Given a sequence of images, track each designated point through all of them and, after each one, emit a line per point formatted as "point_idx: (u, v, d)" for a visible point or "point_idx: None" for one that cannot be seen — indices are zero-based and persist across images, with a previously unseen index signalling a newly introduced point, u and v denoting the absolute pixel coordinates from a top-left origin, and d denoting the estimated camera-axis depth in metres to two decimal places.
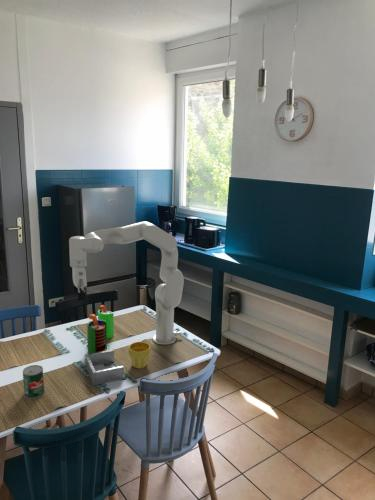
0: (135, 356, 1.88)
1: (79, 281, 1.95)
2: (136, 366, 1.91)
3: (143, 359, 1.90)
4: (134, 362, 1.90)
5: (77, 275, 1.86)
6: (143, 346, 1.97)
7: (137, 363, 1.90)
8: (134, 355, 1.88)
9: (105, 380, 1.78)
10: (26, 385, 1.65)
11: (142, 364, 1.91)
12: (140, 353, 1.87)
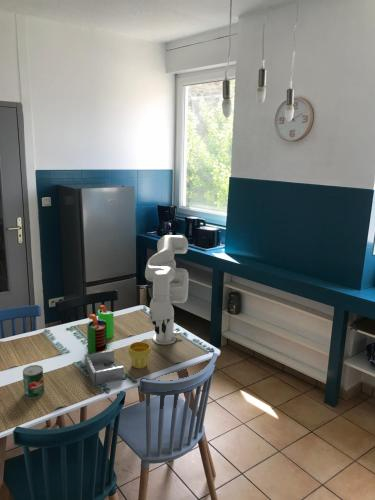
0: (135, 356, 1.88)
1: None
2: (136, 366, 1.91)
3: (143, 359, 1.90)
4: (134, 362, 1.90)
5: (171, 306, 1.92)
6: (143, 346, 1.97)
7: (137, 363, 1.90)
8: (134, 355, 1.88)
9: (105, 380, 1.78)
10: (26, 385, 1.65)
11: (142, 364, 1.91)
12: (140, 353, 1.87)
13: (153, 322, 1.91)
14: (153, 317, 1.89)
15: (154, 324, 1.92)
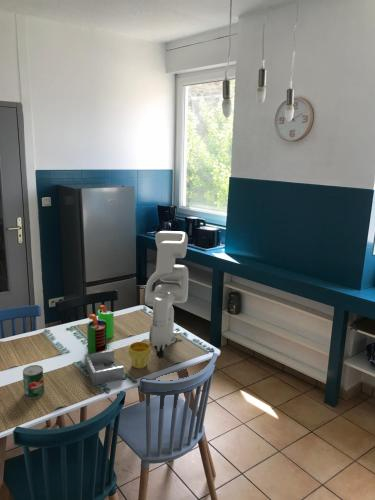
0: (135, 356, 1.88)
1: None
2: (136, 366, 1.91)
3: (143, 359, 1.90)
4: (134, 362, 1.90)
5: None
6: (143, 346, 1.97)
7: (137, 363, 1.90)
8: (134, 355, 1.88)
9: (105, 380, 1.78)
10: (26, 385, 1.65)
11: (142, 364, 1.91)
12: (140, 353, 1.87)
13: (155, 346, 1.94)
14: (153, 342, 1.92)
15: (156, 348, 1.95)
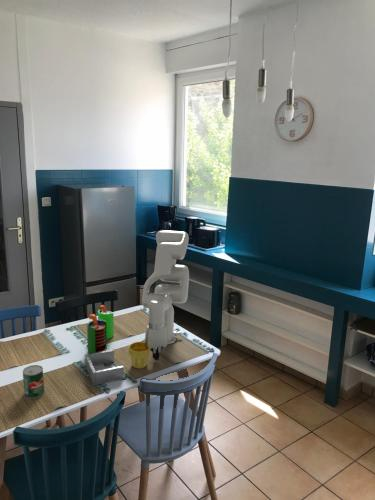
0: (135, 356, 1.88)
1: None
2: (136, 366, 1.91)
3: (143, 359, 1.90)
4: (134, 362, 1.90)
5: (166, 333, 1.95)
6: (143, 346, 1.96)
7: (137, 363, 1.90)
8: (134, 355, 1.88)
9: (105, 380, 1.78)
10: (26, 385, 1.65)
11: (142, 364, 1.91)
12: (140, 353, 1.87)
13: (151, 349, 1.94)
14: (149, 345, 1.91)
15: (152, 351, 1.94)
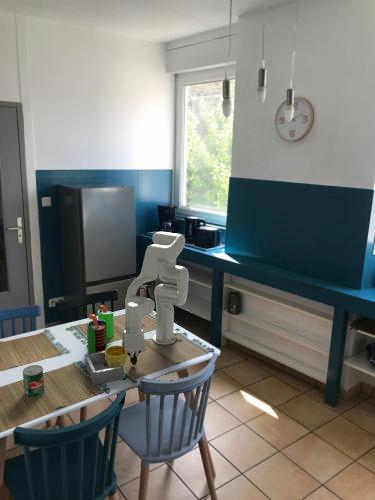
0: (110, 360, 1.83)
1: None
2: None
3: (119, 363, 1.85)
4: (110, 366, 1.86)
5: None
6: (121, 350, 1.92)
7: (113, 367, 1.85)
8: (109, 359, 1.83)
9: (105, 380, 1.78)
10: (26, 385, 1.65)
11: None
12: (115, 357, 1.83)
13: (128, 353, 1.89)
14: (126, 349, 1.87)
15: (129, 355, 1.90)
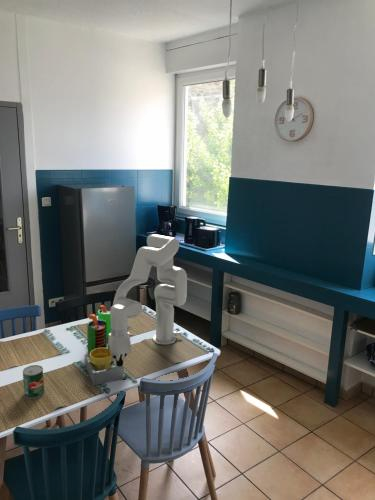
0: (94, 362, 1.81)
1: None
2: None
3: (103, 366, 1.82)
4: (94, 368, 1.84)
5: None
6: (107, 352, 1.89)
7: (97, 370, 1.83)
8: (93, 361, 1.81)
9: (105, 380, 1.78)
10: (26, 385, 1.65)
11: None
12: (98, 360, 1.80)
13: (114, 356, 1.86)
14: (111, 352, 1.84)
15: (115, 358, 1.87)
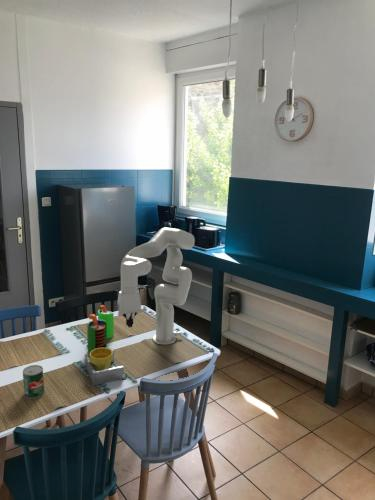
0: (94, 362, 1.81)
1: None
2: None
3: (103, 366, 1.82)
4: None
5: None
6: (107, 352, 1.89)
7: (97, 370, 1.83)
8: (93, 361, 1.81)
9: (105, 380, 1.78)
10: (26, 385, 1.65)
11: None
12: (98, 360, 1.80)
13: (124, 315, 1.84)
14: (121, 310, 1.81)
15: (125, 317, 1.84)
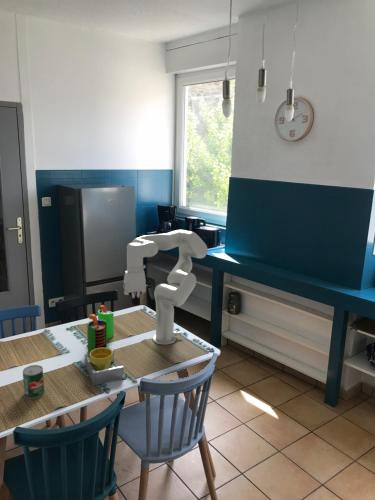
0: (94, 362, 1.81)
1: None
2: None
3: (103, 366, 1.82)
4: None
5: None
6: (107, 352, 1.89)
7: (97, 370, 1.83)
8: (93, 361, 1.81)
9: (105, 380, 1.78)
10: (26, 385, 1.65)
11: None
12: (98, 360, 1.80)
13: (129, 293, 1.93)
14: (127, 288, 1.91)
15: (130, 295, 1.94)
